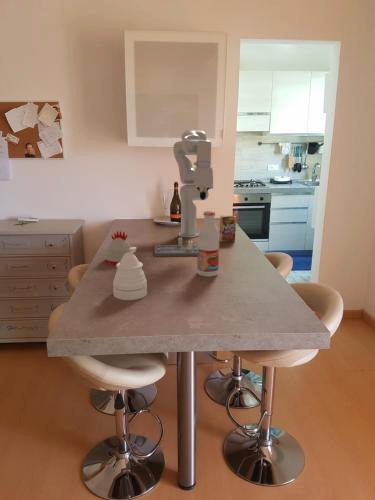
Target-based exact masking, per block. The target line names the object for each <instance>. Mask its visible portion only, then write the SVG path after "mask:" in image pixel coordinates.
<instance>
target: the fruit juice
mask: <svg viewBox="0 0 375 500" xmlns="http://www.w3.org/2000/svg"><path fill="white" fill-rule="evenodd" d="M215 216H216V212H215V211H212V210H211V211H210V210H207V211H204V212H203V217H204V219H203V222H202V224H201V225H200V227H199V228H198V232H197V233H198V234H199V235H198V238H199V239H198V242H197V245H198V256H197V263H196V264H197V267H196V270H197V271H196V272H197V275H199V276H201V277H206V278H210V277H211V278H212V277H215V276H218V274H219V259H220V241H219V235H220V228H219V227H218V226H217V224H216V220H215Z"/></svg>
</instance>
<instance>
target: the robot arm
mask: <svg viewBox="0 0 375 500" xmlns="http://www.w3.org/2000/svg"><path fill="white" fill-rule="evenodd" d="M173 155H174V159H175V161H176V163H177V165H178V172H179V173H178V174H179V179H180V183H181V184H182V186H181V187H180V188H179V196H180V216H181V217H180V232H178V236H179V237H181V238H186V239H188V238H197V237H199V234H198V232H197V209H198V208H197V205H196V204H195V203H194V201H206V200H207V199H208V198H209V190H213V189H214V172H213V171H214V170H213V167H211V165H212V142H211V140H209V139H207V134H206V133H205V131H203V130H192V129H191V130H186V131H184V132H183V133H182V134H181V140H179V141H176V142H175V143H174V144H173ZM187 156H196V161H194V162H193V163H192V161H191V160H190V159H189V158H188V157H187ZM193 165H194V166H196V167H194V168H193Z"/></svg>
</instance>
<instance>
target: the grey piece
mask: <svg viewBox="0 0 375 500" xmlns="http://www.w3.org/2000/svg"><path fill="white" fill-rule="evenodd" d="M122 233H123V234H122ZM125 233H126V231H123V232H122V231H121V230H120V231H119V230H117V231H116V233H115V232H114V233H113V234H112V235H110V237H111V239H112V241H110V243H109V245H108V246H107V249H106V252H105V263H106V264H109V265H111V264H112V265H113V266H116V265H117V264H118V263H119V262H120V261H121V259H122V258H123V256H124V255H125V254H126V253H127V252H131V251H130V247H132V246H131V244H130V243H129V242H128V241H127V237H128V233H127V234H125ZM113 235H114V236H113Z"/></svg>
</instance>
